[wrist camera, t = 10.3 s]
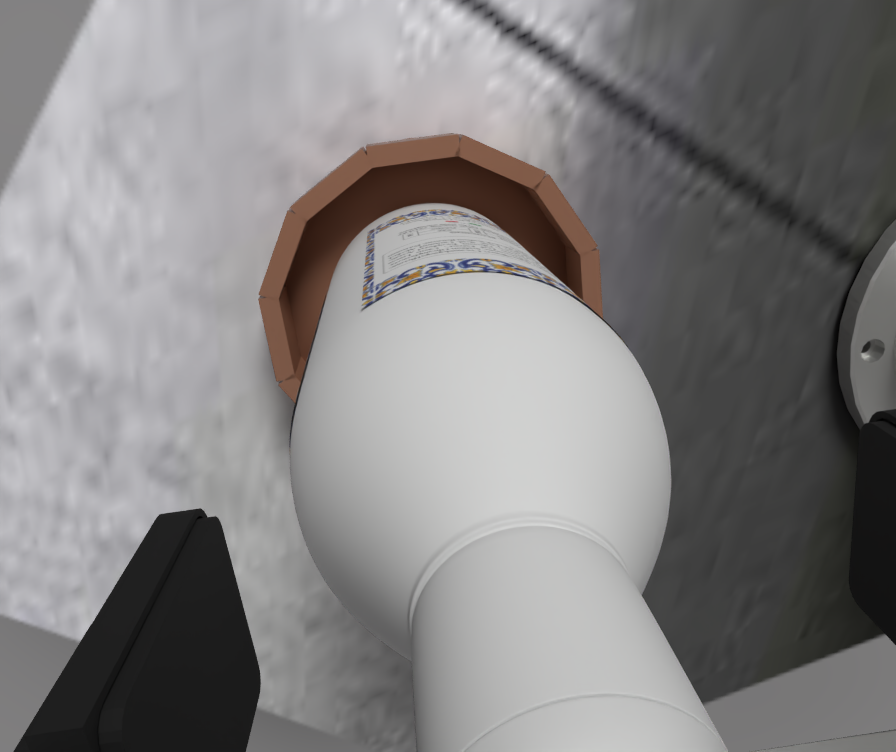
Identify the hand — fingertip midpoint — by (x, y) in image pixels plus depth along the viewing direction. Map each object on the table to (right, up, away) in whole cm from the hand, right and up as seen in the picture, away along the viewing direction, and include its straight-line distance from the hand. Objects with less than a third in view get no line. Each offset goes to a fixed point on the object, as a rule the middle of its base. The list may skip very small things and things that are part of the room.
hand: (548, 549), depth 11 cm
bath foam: (-2, +5, +14) cm, 15 cm away
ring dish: (-2, +5, +15) cm, 16 cm away
